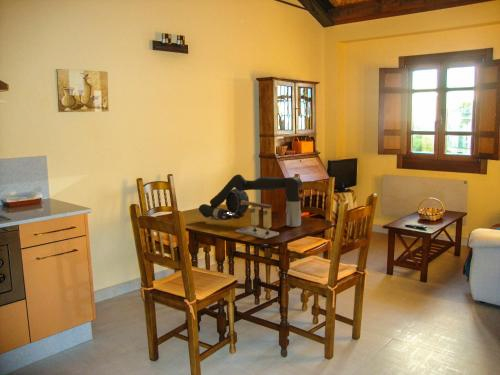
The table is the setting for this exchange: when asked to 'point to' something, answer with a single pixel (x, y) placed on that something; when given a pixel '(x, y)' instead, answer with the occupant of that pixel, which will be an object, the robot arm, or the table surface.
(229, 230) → the table surface
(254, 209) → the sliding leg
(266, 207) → the beam
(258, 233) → the plate
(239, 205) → the dark treaded wheel
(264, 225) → the fixed leg
